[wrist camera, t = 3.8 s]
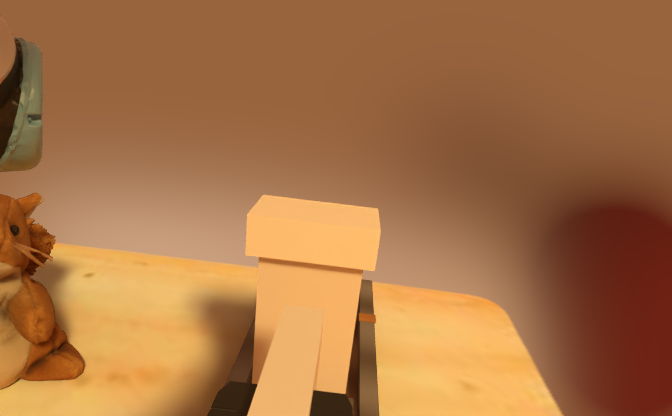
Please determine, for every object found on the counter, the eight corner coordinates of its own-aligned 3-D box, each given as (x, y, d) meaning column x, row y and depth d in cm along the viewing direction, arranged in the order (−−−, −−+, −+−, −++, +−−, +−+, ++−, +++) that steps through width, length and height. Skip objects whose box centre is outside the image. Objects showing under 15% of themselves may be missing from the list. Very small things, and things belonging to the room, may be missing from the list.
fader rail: (379, 620, 18) (390, 572, 17) (155, 588, 18) (154, 539, 17) (368, 306, 43) (373, 279, 42) (273, 294, 43) (275, 267, 42)
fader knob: (348, 491, 22) (388, 239, 18) (225, 474, 22) (234, 220, 18) (350, 417, 27) (382, 204, 22) (249, 403, 27) (261, 189, 22)
